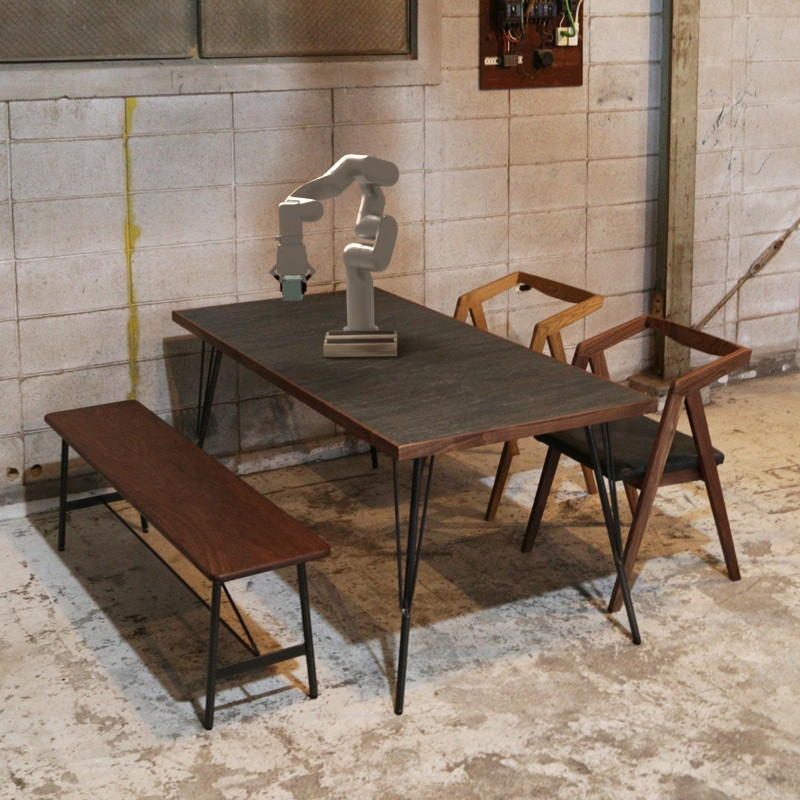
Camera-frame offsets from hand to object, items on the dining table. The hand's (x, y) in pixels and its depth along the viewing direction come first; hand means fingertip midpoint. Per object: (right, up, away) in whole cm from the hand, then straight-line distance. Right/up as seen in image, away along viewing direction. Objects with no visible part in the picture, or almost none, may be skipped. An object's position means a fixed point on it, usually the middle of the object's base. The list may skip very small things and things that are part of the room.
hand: (293, 293), depth 427 cm
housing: (0, -1, 0) cm, 1 cm away
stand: (+22, -18, +5) cm, 29 cm away
